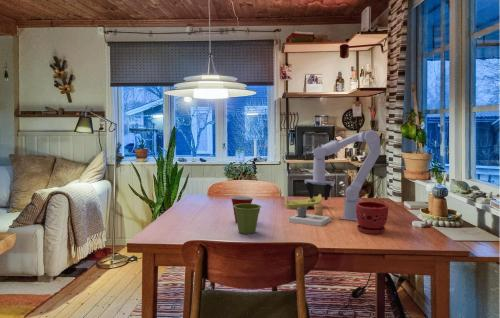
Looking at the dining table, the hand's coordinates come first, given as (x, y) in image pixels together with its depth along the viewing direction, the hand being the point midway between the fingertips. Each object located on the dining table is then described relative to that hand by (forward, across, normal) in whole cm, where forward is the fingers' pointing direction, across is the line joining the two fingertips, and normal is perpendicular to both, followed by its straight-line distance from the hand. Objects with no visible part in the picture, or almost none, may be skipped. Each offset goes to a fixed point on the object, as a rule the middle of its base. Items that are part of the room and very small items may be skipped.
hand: (318, 199), depth 208 cm
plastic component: (+10, -16, +19) cm, 27 cm away
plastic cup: (+9, -27, -28) cm, 40 cm away
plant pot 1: (+9, -15, -43) cm, 46 cm away
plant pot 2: (+9, +30, -15) cm, 35 cm away
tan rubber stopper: (+9, 0, 0) cm, 9 cm away
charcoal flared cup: (+9, -4, -11) cm, 15 cm away
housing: (+9, 0, -11) cm, 14 cm away
